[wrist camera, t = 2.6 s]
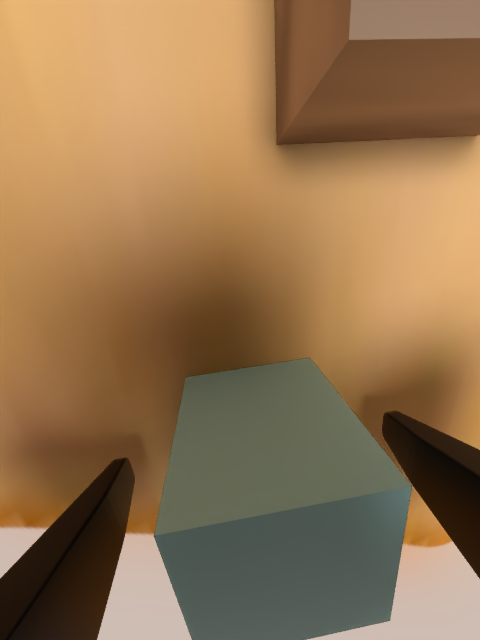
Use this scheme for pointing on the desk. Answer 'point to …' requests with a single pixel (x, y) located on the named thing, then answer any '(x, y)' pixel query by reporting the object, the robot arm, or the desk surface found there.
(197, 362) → the desk surface
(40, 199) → the desk surface
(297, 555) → the teal block
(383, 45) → the walnut block
